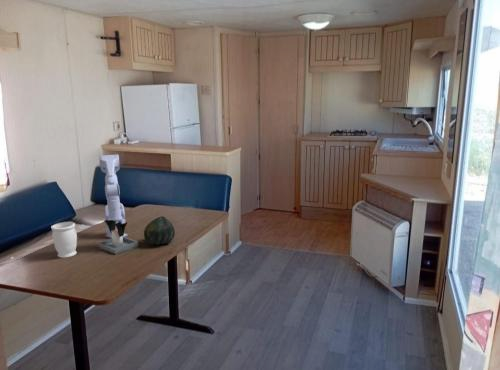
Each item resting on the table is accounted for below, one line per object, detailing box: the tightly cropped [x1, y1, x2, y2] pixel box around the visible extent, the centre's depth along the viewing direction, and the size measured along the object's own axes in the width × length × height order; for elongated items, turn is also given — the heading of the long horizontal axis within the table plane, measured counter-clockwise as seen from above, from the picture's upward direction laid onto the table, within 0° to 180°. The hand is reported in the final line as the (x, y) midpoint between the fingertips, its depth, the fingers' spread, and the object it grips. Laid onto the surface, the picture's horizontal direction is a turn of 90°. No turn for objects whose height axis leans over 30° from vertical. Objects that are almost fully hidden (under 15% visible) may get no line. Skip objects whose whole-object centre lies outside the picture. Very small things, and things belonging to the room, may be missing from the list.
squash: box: [143, 216, 176, 246], centre depth 202 cm, size 14×15×15 cm
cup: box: [111, 229, 123, 248], centre depth 198 cm, size 5×5×8 cm
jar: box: [50, 221, 78, 259], centre depth 190 cm, size 11×10×15 cm
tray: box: [97, 236, 139, 255], centre depth 199 cm, size 15×13×2 cm
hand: (117, 234), depth 198 cm, fingers open, 7 cm apart
